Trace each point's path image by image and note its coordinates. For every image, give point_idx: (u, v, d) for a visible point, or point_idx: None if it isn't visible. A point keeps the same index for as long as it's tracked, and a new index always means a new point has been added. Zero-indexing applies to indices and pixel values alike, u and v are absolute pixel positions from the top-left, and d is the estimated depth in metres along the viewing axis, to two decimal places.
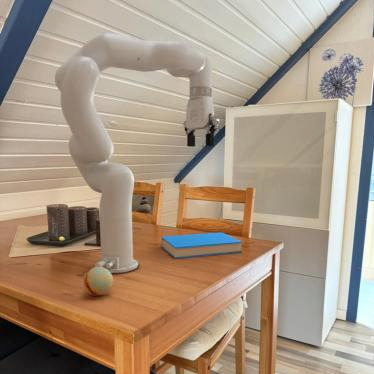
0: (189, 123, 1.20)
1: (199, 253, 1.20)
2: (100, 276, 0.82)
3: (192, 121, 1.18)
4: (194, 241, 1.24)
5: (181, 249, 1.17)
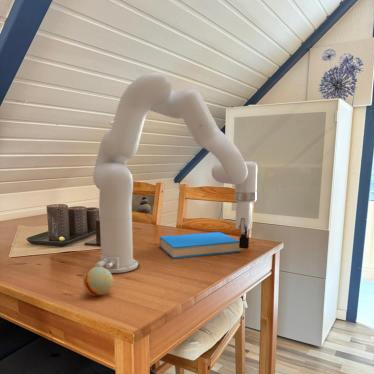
0: None
1: (197, 253, 1.20)
2: (100, 276, 0.82)
3: None
4: (192, 241, 1.24)
5: (179, 249, 1.17)
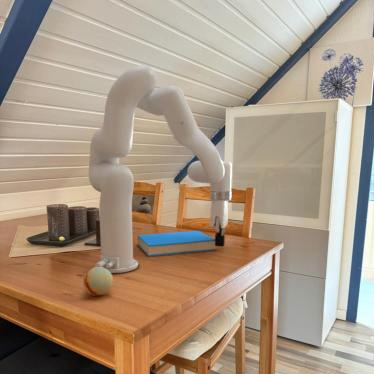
0: None
1: (173, 251, 1.22)
2: (100, 276, 0.82)
3: None
4: (169, 239, 1.26)
5: (155, 247, 1.19)
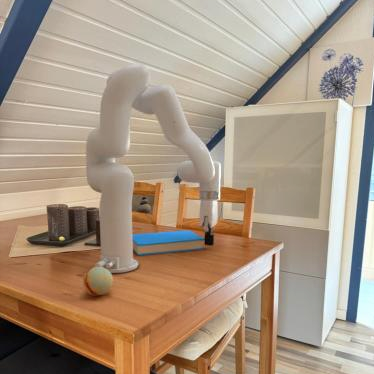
0: None
1: (162, 250, 1.23)
2: (100, 276, 0.82)
3: None
4: (158, 238, 1.27)
5: (144, 246, 1.20)
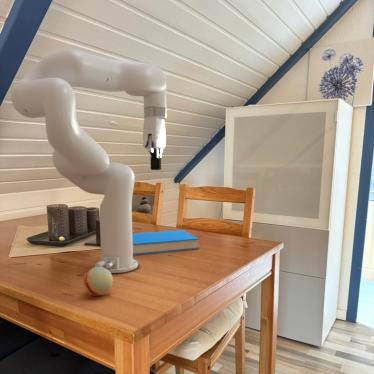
0: None
1: (156, 250, 1.24)
2: (100, 276, 0.82)
3: None
4: (152, 238, 1.28)
5: (138, 246, 1.21)
